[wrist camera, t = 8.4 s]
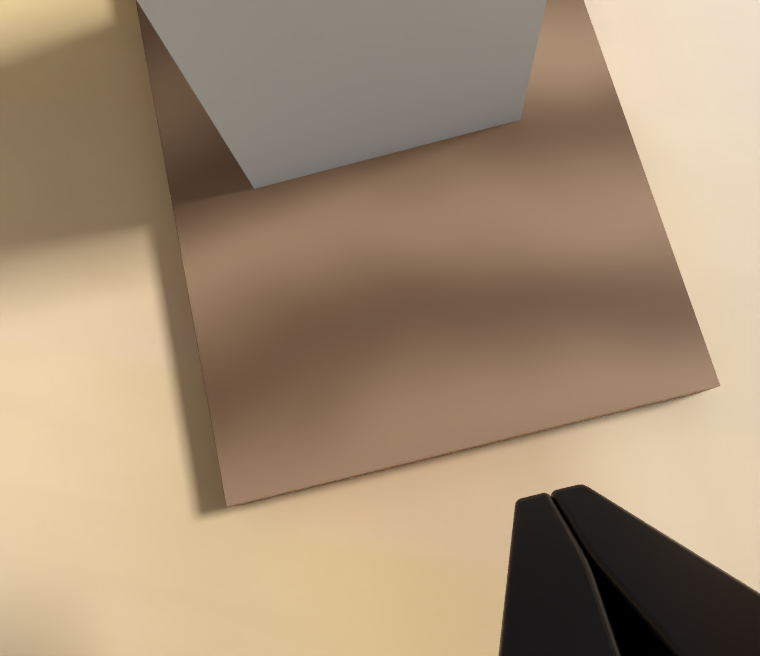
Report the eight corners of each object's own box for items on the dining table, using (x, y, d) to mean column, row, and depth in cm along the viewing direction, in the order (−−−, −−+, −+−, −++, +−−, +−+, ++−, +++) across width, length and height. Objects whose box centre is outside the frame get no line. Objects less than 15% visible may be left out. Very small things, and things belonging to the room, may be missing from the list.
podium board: (705, 391, 22) (720, 385, 21) (237, 505, 22) (226, 506, 21) (525, -125, 26) (529, -153, 25) (141, -22, 27) (127, -45, 26)
